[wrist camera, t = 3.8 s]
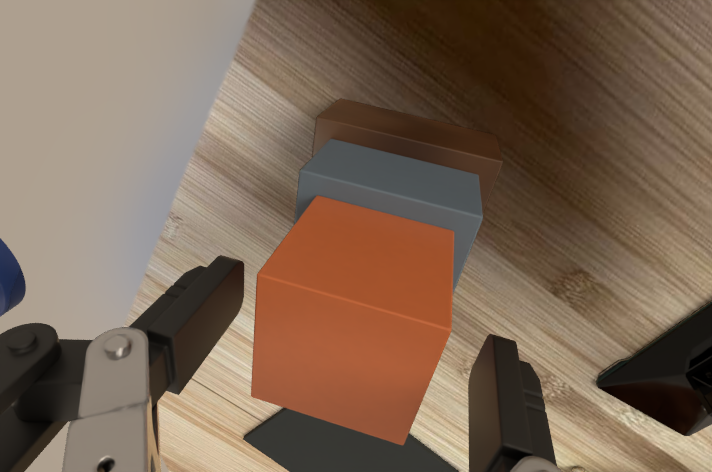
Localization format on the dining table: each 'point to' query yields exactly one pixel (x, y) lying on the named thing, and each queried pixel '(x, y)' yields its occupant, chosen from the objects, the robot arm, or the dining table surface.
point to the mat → (337, 447)
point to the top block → (353, 317)
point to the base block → (412, 139)
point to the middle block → (396, 190)
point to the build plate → (669, 376)
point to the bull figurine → (578, 469)
